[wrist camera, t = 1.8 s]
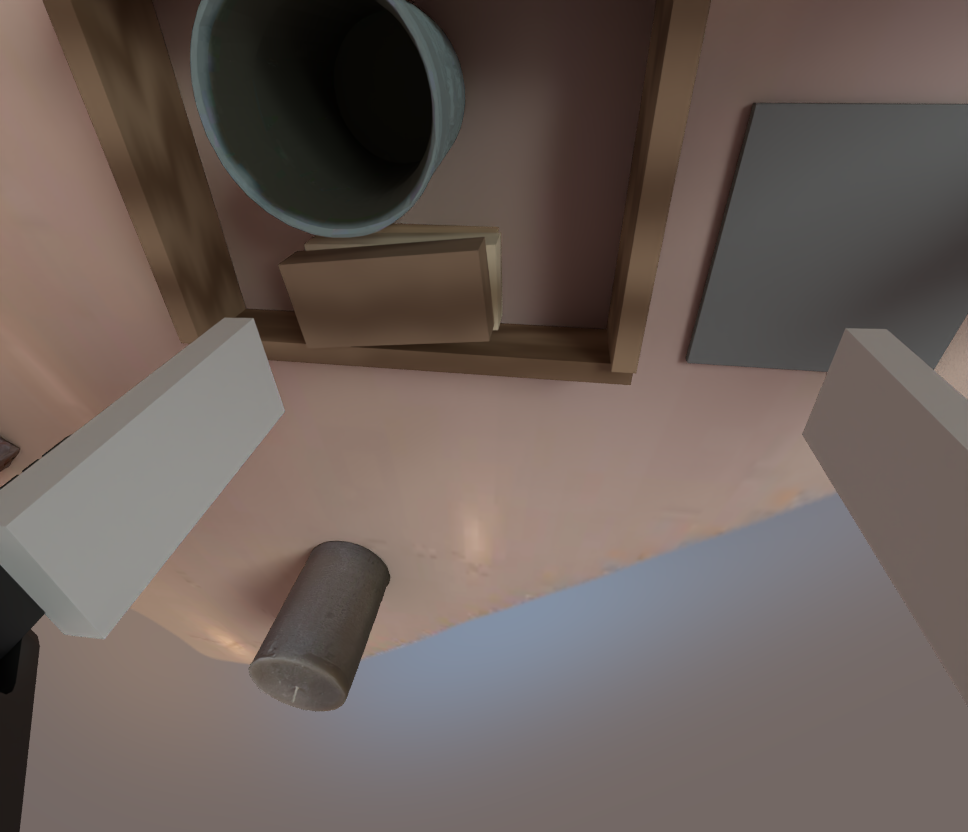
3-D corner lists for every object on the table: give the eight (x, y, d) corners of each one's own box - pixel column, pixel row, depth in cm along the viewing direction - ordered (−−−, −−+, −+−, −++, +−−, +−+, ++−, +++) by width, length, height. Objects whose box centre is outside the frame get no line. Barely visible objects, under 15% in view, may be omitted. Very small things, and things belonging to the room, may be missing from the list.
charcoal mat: (753, 102, 27) (756, 103, 27) (1084, 104, 26) (1093, 105, 25) (685, 358, 37) (687, 362, 36) (923, 373, 35) (928, 378, 34)
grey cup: (284, 97, 31) (152, 118, 21) (376, -78, 25) (256, -155, 16) (414, 217, 34) (351, 284, 24) (519, 84, 28) (492, 102, 19)
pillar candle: (407, 580, 58) (363, 717, 46) (349, 601, 62) (295, 732, 50) (349, 528, 54) (284, 663, 42) (292, 555, 58) (218, 684, 46)
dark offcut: (296, 251, 31) (278, 265, 29) (484, 236, 29) (478, 250, 27) (323, 331, 35) (307, 348, 33) (494, 323, 32) (489, 341, 30)
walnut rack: (98, -89, 27) (-52, -134, 20) (707, -116, 23) (759, -180, 17) (233, 325, 41) (170, 376, 34) (624, 348, 37) (635, 411, 31)
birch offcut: (320, 232, 33) (304, 244, 31) (500, 232, 31) (495, 244, 29) (337, 310, 36) (324, 325, 34) (502, 314, 35) (498, 330, 33)
